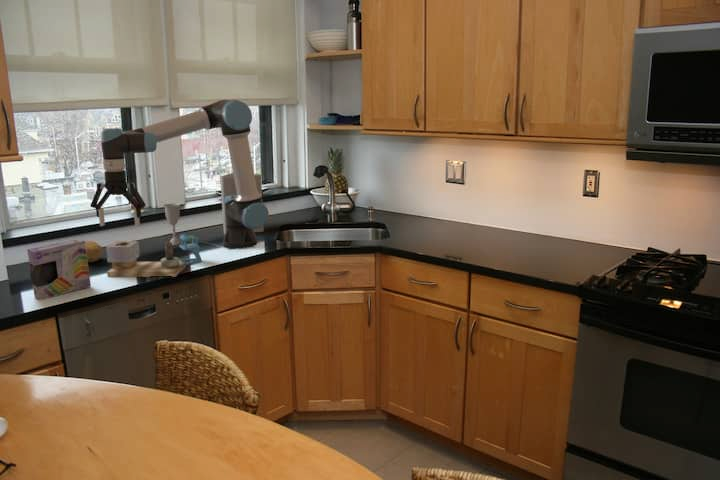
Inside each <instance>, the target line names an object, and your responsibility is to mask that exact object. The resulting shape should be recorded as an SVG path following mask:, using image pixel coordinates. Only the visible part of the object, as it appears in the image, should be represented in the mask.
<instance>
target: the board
mask: <svg viewBox="0 0 720 480" xmlns="http://www.w3.org/2000/svg"><path fill="white" fill-rule="evenodd" d="M119 246H126V242H120V243H119ZM173 246H174V245H172V243H171V242H170V241H167V242H165V243H164V249H165V251H164V252H165V257H163V258H161V259H160V261H137V258H136V259H135V260H134V261H132V262H111V267H112V268H110V269H108V271H107V272H106V273H107V278H108V277H109V278H110V277H111V278H113V277H115V278H125V277H126V278H135V277H136V278H140V277H141V278H147V277H148V278H151V277H150V276H172V277H171V278H174V277H177V276H178V275H179V274H180V273H181V272H183V270H185V269H186V268H187V267H186V263H187V261H185V262H179V260H180V258H179V257H178V256H174V248H173ZM180 271H181V272H180ZM179 272H180V273H179ZM178 273H179V274H178ZM177 274H178V275H177Z"/></svg>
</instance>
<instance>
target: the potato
mask: <svg viewBox="0 0 720 480" xmlns="http://www.w3.org/2000/svg"><path fill="white" fill-rule="evenodd" d="M85 245H86V252H87V260H88V263H95V262H97V261H99V259H100V258H101V256H102V255H103V251H104V250H103V248H102V246H101V245H99V244H98V243H97V242H96V241H92V240H86V241H85Z"/></svg>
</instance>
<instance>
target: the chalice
mask: <svg viewBox="0 0 720 480" xmlns="http://www.w3.org/2000/svg"><path fill="white" fill-rule="evenodd" d="M180 206H181V203H175V202H174V203H165V204H163V207H164V212H165V217H166V220H167V222H168V224H169V225H171V227H172V228H171V230H172V238H171V239H170V241H169V242H171V243H172V245H173V246H174V245H181V240H180V238H178V237H177V236H176V233H177V232H176V225H177V224H178V222H179V218H180V215H181V214H180Z"/></svg>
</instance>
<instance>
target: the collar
mask: <svg viewBox="0 0 720 480" xmlns="http://www.w3.org/2000/svg"><path fill="white" fill-rule="evenodd" d="M120 242H126V246H119V243H120ZM105 249H106V260H107V263H112V262H132V261H134V260H135V259H136V260H137V259H138V258H139V257H141V255H140V244H139V241H136V240H134V241H133V240H132V241H129V240H128V241H127V240H126V241H124V240H123V241H117V240H116V241H114V242H112V243H111V244H108V245H107V246H106V247H105Z"/></svg>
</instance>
